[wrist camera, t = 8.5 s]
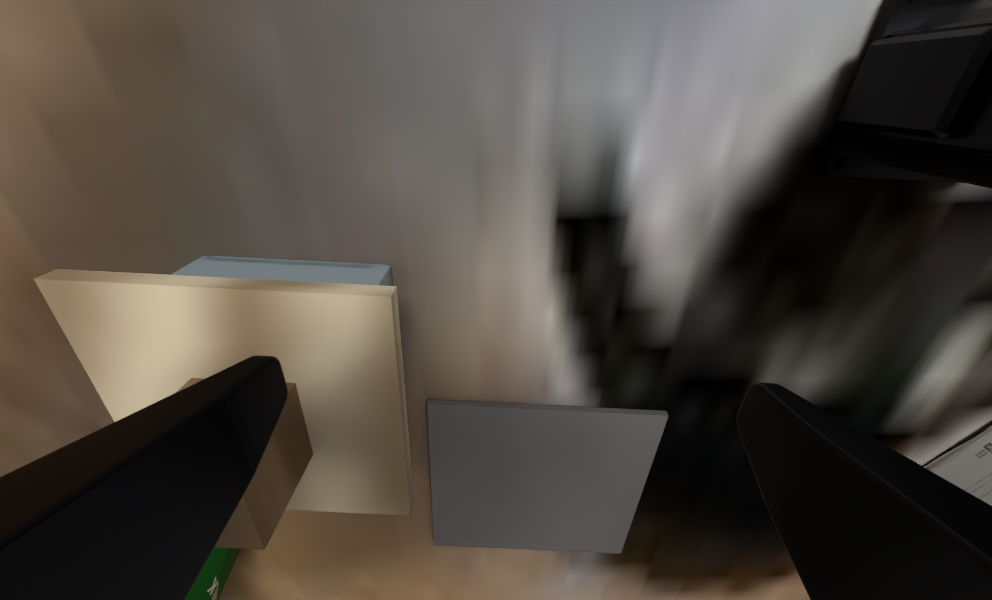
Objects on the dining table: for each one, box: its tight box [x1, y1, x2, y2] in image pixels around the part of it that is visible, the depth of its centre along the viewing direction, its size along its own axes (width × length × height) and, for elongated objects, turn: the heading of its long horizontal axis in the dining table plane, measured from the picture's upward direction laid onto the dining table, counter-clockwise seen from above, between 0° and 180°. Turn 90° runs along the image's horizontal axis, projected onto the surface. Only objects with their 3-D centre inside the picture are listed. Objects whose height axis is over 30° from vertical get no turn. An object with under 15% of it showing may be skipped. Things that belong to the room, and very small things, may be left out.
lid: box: [34, 269, 414, 550], centre depth 15 cm, size 12×12×5 cm
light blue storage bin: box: [171, 255, 393, 286], centre depth 19 cm, size 9×9×5 cm
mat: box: [427, 399, 668, 554], centre depth 26 cm, size 14×14×1 cm
